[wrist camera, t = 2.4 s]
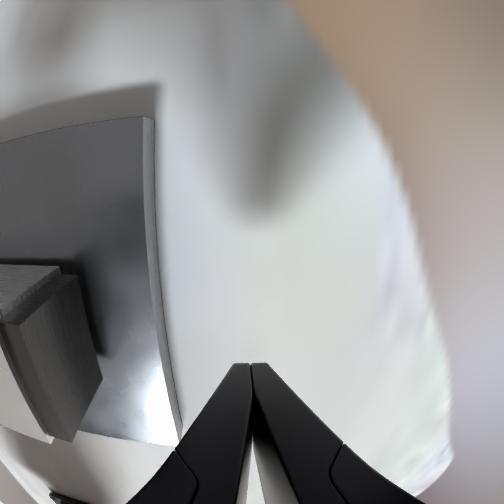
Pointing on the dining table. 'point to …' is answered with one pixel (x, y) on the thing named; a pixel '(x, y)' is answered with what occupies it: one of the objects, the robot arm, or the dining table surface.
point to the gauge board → (99, 259)
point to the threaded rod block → (44, 353)
